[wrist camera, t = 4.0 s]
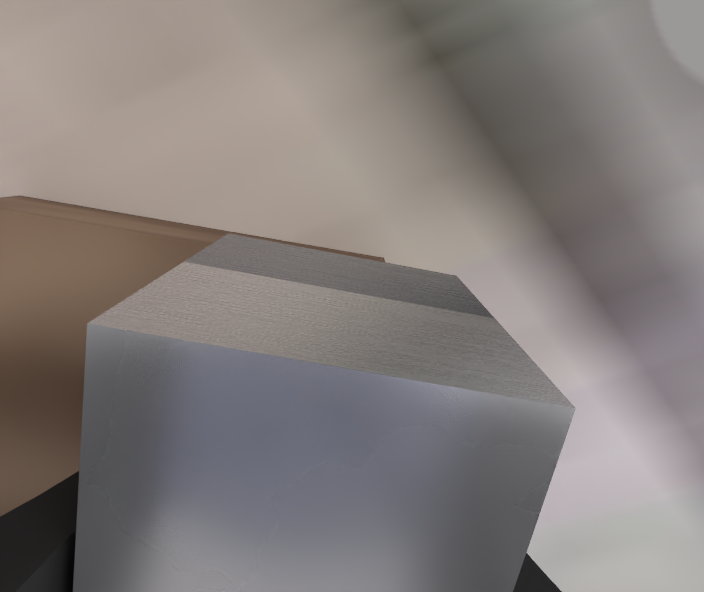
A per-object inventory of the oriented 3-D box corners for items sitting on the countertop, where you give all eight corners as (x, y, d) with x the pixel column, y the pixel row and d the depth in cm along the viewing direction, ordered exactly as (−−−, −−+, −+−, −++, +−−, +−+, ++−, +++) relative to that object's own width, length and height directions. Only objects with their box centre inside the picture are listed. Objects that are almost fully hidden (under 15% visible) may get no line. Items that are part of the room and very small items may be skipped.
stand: (326, 550, 20) (324, 603, 18) (19, 507, 19) (-27, 556, 17) (383, 258, 17) (389, 274, 14) (19, 195, 16) (-38, 202, 14)
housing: (382, 570, 13) (408, 897, 7) (189, 541, 13) (58, 857, 7) (456, 276, 11) (576, 409, 5) (228, 233, 11) (86, 323, 5)
